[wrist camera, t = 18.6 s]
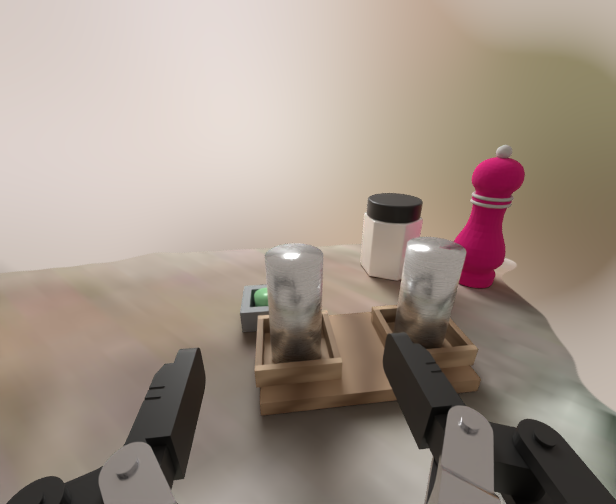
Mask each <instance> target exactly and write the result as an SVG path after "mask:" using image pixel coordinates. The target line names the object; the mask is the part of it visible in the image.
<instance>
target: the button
mask: <svg viewBox="0 0 616 504" xmlns="http://www.w3.org/2000/svg"><path fill="white" fill-rule="evenodd" d="M254 298H255V307H262V306H268V294H267V288H261V289H259V290H257V291H256V292H255V294H254Z"/></svg>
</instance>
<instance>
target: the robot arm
mask: <svg viewBox="0 0 616 504" xmlns="http://www.w3.org/2000/svg"><path fill="white" fill-rule="evenodd" d="M383 369H384V372H385V375H386V377H387V379H388V381H389V384H390V386H391V388H392V390H393V392H394V395H395V397H396V399H397V401H398V404H399V406H400V408H401V410H402V412H403V415H404V417H405V419H406V421H407V424H408V426H409V428H410V430H411V432H412V435H413V437H414V439H415V441H416V443H417V446H418V448H419V449H426V448H430V451H431V453H432V455H433V458H432V462H431V468H430V473H429V479H428V485H427V491H426V497H425V503H424V504H500V499H499V497H498V496H497V495H495V493H494V492H498V493H501V495H502V497H503V499H504V500H505V502H506V504H616V500H615V498H614V497H613V496H612V495H611V494H610V493H609V491H608V490H607V489H606V488H605V487H604V485H603V484H602V483H601V482H600V481H599V480H598V478H597V477H596V476H595V475H594V474H593V473H592V471H591V470H590V469H589V468H588V467H587V466H586V464H585V463H584V462H583V461H582V460H581V458H580V457H579V456H578V455H577V454H576V453H575V451H574V450H573V449H572V448H571V447H570V446H569V444H568V443H567V442H566V441H565V440H564V438H563V437H562V436H561V435H560V434H559V433H558V432H556V431H555V430H554V429H553V428H551V427H550V426H548V425H546V424H544V423H542V422H540V421H537V420H533V419H524V420H522V421H520V422H519V424H518V426H517V428H515V427H510V426H505V425H500V424H496V423H491V422H488V421H487V419H486V418H485V417H484V416H483V415H482V414H480V413H479V412H477V411H476V410H474V409H472V408H470V407H467V406H466V405H465V404H464V403H463V401H462V400H461V398H460V397H459V395H458V394H457V392H456V391H455V389H454V388H453V386H452V385H451V383H450V382H449V380H448V379H447V377H446V376H445V374H444V373H443V372H442V370H441V369H440V367H439V366H438V364H436V361H435V360H434V358H433V357H432V355H431V354H430V352H429V351H428V350H426V349H425V348H424V347H423V346H421V345H420V344H419V343H417V344H413V342H412V341H411V339H410V338H409V336H408V335H407V333H405V332H400V333H388V334H387V337H386V342H385V348H384V354H383ZM204 390H205V371H204V365H203V360H202V355H201V351H200V348H188V349H180V350H179V351H178V353H177V356H176V358H175V361H174V363H170V364H164V365H163V367H162V368H161V369H160V370H159V371H158V372H157V373H156V374H155V376H154V378H153V380H152V383H151V385H150V387H149V390H148V392H147V394H146V396H145V401H143V403H142V406H141V408H140V410H139V413H138V415H137V417H136V419H135V422H134V424H133V426H132V429H131V431H130V433H129V436H128V438H127V440H126V442H125V444H124V446H123V447H122V448H120V449H119V450H117V451H116V452H115V453H114V454H112V455H111V456H110V458H109V459H108V460H107V461H106V462H105V464H104V466H102V467H100V468H99V469H97V470H94V471H92V472H90V473H88V474H85V475H83V476H80V477H78V478H76V479H73V480H71V481H69V482H66V483H63V481H62V480H61V479H60V478H58V477H55V476H49V477H44V478H41V479H38V480H36V481H34V482H32V483H30V484H29V485H27V486H25V487H24V488H23V489H21V490H20V491H19V492H18V493H17V494H15V495H14V496H13V497H12V498H11V499H10V500H9V501H8V503H7V504H178V503H177V502H176V500H175V498H174V496H173V494H172V492H171V489H172V485H173V481H174V480H179V479H184V477H185V473H186V468H187V464H188V460H189V455H190V451H191V447H192V442H193V438H194V434H195V429H196V425H197V421H198V416H199V412H200V408H201V403H202V399H203V394H204Z"/></svg>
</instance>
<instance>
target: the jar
mask: <svg viewBox="0 0 616 504" xmlns="http://www.w3.org/2000/svg"><path fill="white" fill-rule="evenodd" d="M421 210H422V200H421V199H419V198H417V197H414V196H410V195H405V194H396V193H382V194H375V195H372V196H370V197H369V198H368V204H367V212H365V213H364V223H363V236H362V247H361V259H360V264H361V265H362V266H363V268H364V269H365V271H366V272H367V273H368V275H369V276H373V277H379V278H384V279H390V280H395V281H398V280H400V279H402V273H403V266H404V260H405V253H406V247H407V242H408V241H409V240H411V239H413V238H417V237H420V234H421V228H422V222H423V219H422V218H421V217H420V216H421Z"/></svg>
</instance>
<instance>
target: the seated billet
mask: <svg viewBox="0 0 616 504" xmlns="http://www.w3.org/2000/svg"><path fill="white" fill-rule="evenodd" d="M465 256H466V250H465V248H464V247H462V246H461V245H459V244H457V243H455V242H453V241H449V240H446V239H441V238H435V237H417V238H413V239H411V240H409V241H408V242H407V247H406V253H405V260H404V266H403V273H402V279H401V285H400V292H399V298H398V305H397V311H396V318H395V324H394V331H393V333H400V332H405V333H407V335H408V336H409V338H410V339H411V341H412V342H413V344H417V343H419V344H420V345H421V346H423V347H424V348H425V349H434V348H442V347H443V343H444V339H445V335H446V331H447V327H448V323H449V319H450V315H451V311H452V308H453V304H454V300H455V296H456V292H457V288H458V284H459V280H460V276H461V272H462V268H463V264H464V260H465Z"/></svg>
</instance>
